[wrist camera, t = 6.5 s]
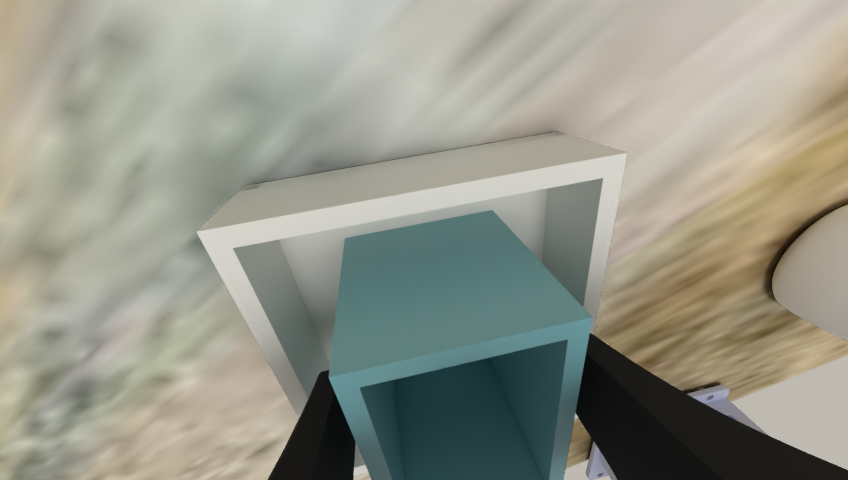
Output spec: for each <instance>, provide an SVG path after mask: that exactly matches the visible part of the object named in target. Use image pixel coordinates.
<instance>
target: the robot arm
mask: <svg viewBox="0 0 848 480" xmlns="http://www.w3.org/2000/svg"><path fill="white" fill-rule="evenodd" d="M728 394H729V389H728V388H727V387H726V386H725V385H718V386H714V387H711V388H707V389H703V390H699V391H695V392H691V393H687V394H686V393H684V392H682V391H680V390H679V389H677V388H675V387H673V386H672V385H670V384H668V383H667V382H665V381H663V380H662V379H660V378H658V377H657V376H655V375H653V374H652V373H650V372H648V371H647V370H645V369H644V368H642V367H641V366H639V365H637V364H636V363H634V362H633V361H631V360H630V359H628V358H627V357H625V356H624V355H622V354H621V353H619V352H618V351H616V350H615V349H613V348H612V347H610V346H609V345H607V344H606V343H604V342H603V341H601V340H600V339H599V338H597V337H596V336H594V335H593V334H591V333H590V334H589V339H588V345H587V351H586V356H585V362H584V367H583V373H582V378H581V384H580V390H579V395H578V401H577V406H576V412H575V413H576V415H577V416H578V418H579V419H580V421H581V422H582V424H583V425H584V427H585V429H586V430H587V432H588V433H589V435H590V436H591V438H592V439H593V445H592V449H591V454H590V458H589V462H588V466H587V470H586V475H587V477H588V478H589V479H590V480H592V479H597V478H600V477H604V476H608V475H609V476H610V478H611V479H612V480H848V470H846V469H844V468H841V467H839V466H836V465H834V464H832V463H829V462H827V461H825V460H822V459H820V458H817V457H815V456H813V455H810V454H808V453H806V452H803V451H801V450H799V449H797V448H794V447H792V446H790V445H788V444H786V443H783V442H781V441H779V440H777V439H774V438H772V437H770V436H768V435H767V434H766V433H765V432H764V431H763V430H762V429H760V428H759V427H758V426H757V425H756V424H755V423H754V422H753V421H751V420H750V419H749V418H748V417H747V416H746V415H745V414H744V413H743V412H741V411H740V410H739V409H738V408H737V407H736V406H735V405H734V404H733V403H731V402H730V401H729V400H728V399H727V396H728ZM355 446H356V441H355V439H354V437H353V434H352V432H351V430H350V427H349V425H348V422H347V420H346V418H345V415H344V413H343V411H342V408H341V406H340V404H339V401H338V399H337V396H336V394H335V392H334V389H333V387H332V385H331V382H330V380H329V370H326V371H322V372H320V374H319V375H318V377H317V380H316V382H315V384H314V387H313V389H312V391H311V394H310V396H309V398H308V400H307V403H306V405H305V407H304V409H303V411H302V414H301V416H300V418H299V420H298V422H297V424H296V426H295V428H294V430H293V432H292V434H291V436H290V438H289V440H288V443H287V445H286V446H285V448H284V450H283V452H282V454H281V456H280V458H279V460H278V462H277V463H276V465H275V467H274V469H273V471H272V473H271V474H270V476H269V478H268V480H353V475H354V461H355Z"/></svg>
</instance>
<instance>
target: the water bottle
mask: <svg viewBox="0 0 848 480" xmlns="http://www.w3.org/2000/svg"><path fill="white" fill-rule="evenodd" d="M772 290H773V294H774V297H775V299H776V300H777V302H778V303H779V304H780V305H781V306H782V307H784V308H785V309H787V310H789V311H790V312H792V313H794V314H795V315H797V316H799V317H801V318H802V319H804V320H806V321H808V322H810V323H812V324H814V325H816V326H817V327H819V328H821V329H823V330H825V331H827V332H829V333H831V334H834V335H836V336H838V337H840V338H842V339H845V340H847V341H848V205H845V206H843V207H841V208H838V209H837V210H835V211H833V212H831V213H829V214H827V215H826V216H824V217H822V218H821V219H819V220H818V221H817V222H815V223H814V224H813V225H811V226H810V227H809V228H808V229H806V230H805V231H804V232H803V233H802V234H801V235H800V236H799V237H798V238H797V239H796V240H795V241H794V242H793V243H792V244H791V245H790V246H789V248H788V249H787V250H786V252H785V253H784V254H783V256H782V257H781V259H780V261H779V262H778V264H777V266H776V269H775V271H774V274H773V279H772Z"/></svg>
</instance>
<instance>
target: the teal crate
mask: <svg viewBox="0 0 848 480" xmlns="http://www.w3.org/2000/svg"><path fill="white" fill-rule="evenodd" d="M591 323H592V316H591V315H590V314H589V313H588V312H587V311H586V310H585V309H584V308H583V307H582V306H581V305H580V304H579V302H578V301H577V300H576V299H575V298H574V297H573V296H572V295H571V294H570V293H569V292H568V291H567V290H566V288H565V287H564V286H563V285H562V284H561V283H560V282H559V281H558V280H557V279H556V278H555V277H554V276H553V275H552V273H551V272H550V271H549V270H548V269H547V268H546V267H545V266H544V265H543V264H542V263H541V262H540V261H539V260H538V258H537V257H536V256H535V255H534V254H533V253H532V252H531V251H530V250H529V249H528V248H527V247H526V246H525V244H524V243H523V242H522V241H521V240H520V239H519V238H518V237H517V236H516V235H515V234H514V233H513V232H512V231H511V229H510V228H509V227H508V226H507V225H506V224H505V223H504V222H503V221H502V220H501V219H500V218H499V217H498V215H497V214H496V213H495V212H494V211H493V210H489V211H484V212H479V213H474V214H468V215H463V216H458V217H453V218H447V219H442V220H437V221H432V222H427V223H421V224H416V225H411V226H406V227H400V228H395V229H390V230H385V231H379V232H374V233H369V234H364V235H359V236H353V237H348V238H345V240H344V249H343V258H342V266H341V275H340V283H339V292H338V300H337V309H336V318H335V326H334V335H333V343H332V352H331V360H330V369H329V380H330V382H331V385H332V387H333V389H334V392H335V394H336V396H337V399H338V401H339V404H340V406H341V408H342V411H343V413H344V415H345V418H346V420H347V422H348V425H349V427H350V430H351V432H352V434H353V437H354V439H355V441H356V444H357V446H358V448H359V451H360V453H361V456H362V458H363V460H364V463H365V465H366V467H367V470H368V472H369V474H370V477H371V479H372V480H563V479H564V473H565V468H566V462H567V456H568V451H569V445H570V440H571V434H572V429H573V423H574V417H575V412H576V406H577V401H578V395H579V390H580V384H581V378H582V373H583V367H584V362H585V356H586V351H587V345H588V339H589V334H590V328H591Z"/></svg>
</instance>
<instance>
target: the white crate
mask: <svg viewBox="0 0 848 480" xmlns="http://www.w3.org/2000/svg"><path fill="white" fill-rule="evenodd" d="M626 157H627V152H624V151H620V150H617V149H614V148H611V147H607V146H604V145H601V144H597V143H594V142H591V141H588V140H584V139H581V138H578V137H574V136H571V135H568V134H565V133H561V132H558V131H557V132H551V133H546V134H540V135H534V136H528V137H523V138H517V139H511V140H505V141H500V142H494V143H488V144H482V145H477V146H471V147H465V148H459V149H454V150H448V151H442V152H437V153H431V154H425V155H419V156H414V157H408V158H402V159H396V160H391V161H385V162H379V163H373V164H368V165H362V166H356V167H351V168H345V169H339V170H333V171H328V172H322V173H316V174H310V175H305V176H299V177H293V178H287V179H282V180H276V181H270V182H264V183H259V184H253V185H247V186H244V187H243V188H242V189H241V190H240V191H239V192H238V193H237V194H236V195H235V196H234V197H233V198H231V199H230V200H229V201H228V202H227V203H226V204H225V205H224V206H223V207H222V208H221V209H220V210H219V211H218V212H217V213H216V214H215V215H214V216H213V217H211V218H210V219H209V220H208V221H207V222H206V223H205V224H204V225H203V226H202V227H201V228H200V229H199V230H198V231H197V234H198V236H199V238H200V239H201V241H202V243H203V245H204V247H205V248H206V250H207V252H208V254H209V256H210V258H211V259H212V261H213V263H214V265H215V267H216V268H217V270H218V272H219V274H220V276H221V278H222V279H223V281H224V283H225V285H226V287H227V288H228V290H229V292H230V294H231V296H232V298H233V299H234V301H235V303H236V305H237V307H238V308H239V310H240V312H241V314H242V316H243V318H244V319H245V321H246V323H247V325H248V327H249V328H250V330H251V332H252V334H253V336H254V338H255V339H256V341H257V343H258V345H259V347H260V348H261V350H262V352H263V354H264V356H265V358H266V359H267V361H268V363H269V365H270V367H271V368H272V370H273V372H274V374H275V376H276V378H277V379H278V381H279V383H280V385H281V387H282V389H283V390H284V392H285V394H286V396H287V398H288V399H289V401H290V403H291V405H292V407H293V409H294V410H295V412H296V414H297V416H298V418H300V416H301V414H302V411H303V409H304V407H305V405H306V403H307V400H308V398H309V396H310V394H311V391H312V389H313V387H314V384H315V382H316V380H317V377H318V375H319V374H320V372H322V371H326V370H329V369H330V360H331V352H332V343H333V335H334V326H335V318H336V309H337V300H338V292H339V283H340V275H341V266H342V258H343V249H344V240H345V238H348V237H353V236H359V235H364V234H369V233H374V232H379V231H385V230H390V229H395V228H400V227H406V226H411V225H416V224H421V223H427V222H432V221H437V220H442V219H447V218H453V217H458V216H463V215H468V214H474V213H479V212H484V211H489V210H493V211H494V212H495V213H496V214H497V215H498V217H499V218H500V219H501V220H502V221H503V222H504V223H505V224H506V225H507V226H508V227H509V228H510V229H511V231H512V232H513V233H514V234H515V235H516V236H517V237H518V238H519V239H520V240H521V241H522V242H523V243H524V244H525V246H526V247H527V248H528V249H529V250H530V251H531V252H532V253H533V254H534V255H535V256H536V257H537V258H538V260H539V261H540V262H541V263H542V264H543V265H544V266H545V267H546V268H547V269H548V270H549V271H550V272H551V273H552V275H553V276H554V277H555V278H556V279H557V280H558V281H559V282H560V283H561V284H562V285H563V286H564V287H565V288H566V290H567V291H568V292H569V293H570V294H571V295H572V296H573V297H574V298H575V299H576V300H577V301H578V302H579V304H580V305H581V306H582V307H583V308H584V309H585V310H586V311H587V312H588V313H589V314H590V315H591V316H592V323H591V328H590V333H591V334H594V329H595V324H596V318H597V313H598V307H599V302H600V297H601V291H602V286H603V281H604V275H605V270H606V264H607V259H608V254H609V248H610V243H611V238H612V232H613V227H614V221H615V216H616V211H617V205H618V200H619V195H620V189H621V184H622V178H623V173H624V168H625V162H626ZM577 418H578V416H577V415H576V413H575V417H574V419H577ZM367 472H368V470H367V467H366V465H365V463H364V460H363V458H362V456H361V453H360V451H359V448H358V446H357V444H356V446H355V461H354V475H353V476H355V475H359V474H363V473H367Z"/></svg>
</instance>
